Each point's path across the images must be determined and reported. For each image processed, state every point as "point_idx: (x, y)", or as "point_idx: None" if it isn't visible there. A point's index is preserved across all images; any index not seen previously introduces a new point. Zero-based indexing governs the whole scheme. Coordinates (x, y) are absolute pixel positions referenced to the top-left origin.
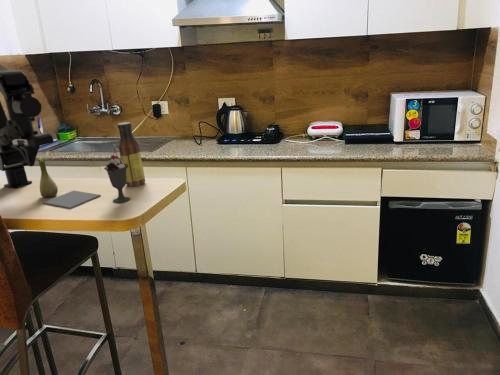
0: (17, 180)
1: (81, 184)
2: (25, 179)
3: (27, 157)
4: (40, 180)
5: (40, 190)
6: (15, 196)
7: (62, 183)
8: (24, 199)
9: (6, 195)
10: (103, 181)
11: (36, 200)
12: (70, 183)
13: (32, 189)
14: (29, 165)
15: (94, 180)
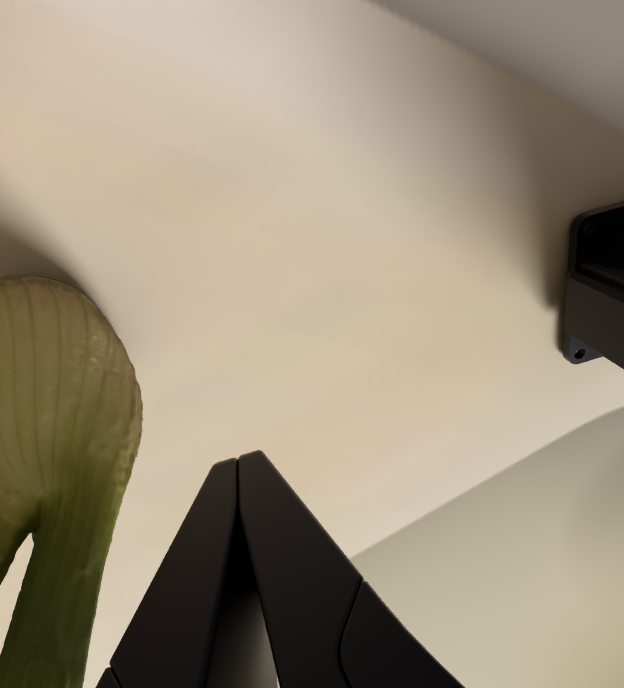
0: (618, 272)
1: None
2: (588, 332)
3: (176, 624)
4: (2, 379)
5: (3, 297)
6: (346, 121)
7: (332, 486)
8: (155, 139)
9: (466, 74)
10: None
11: (7, 206)
12: None
13: (404, 303)
14: (240, 462)
15: None
